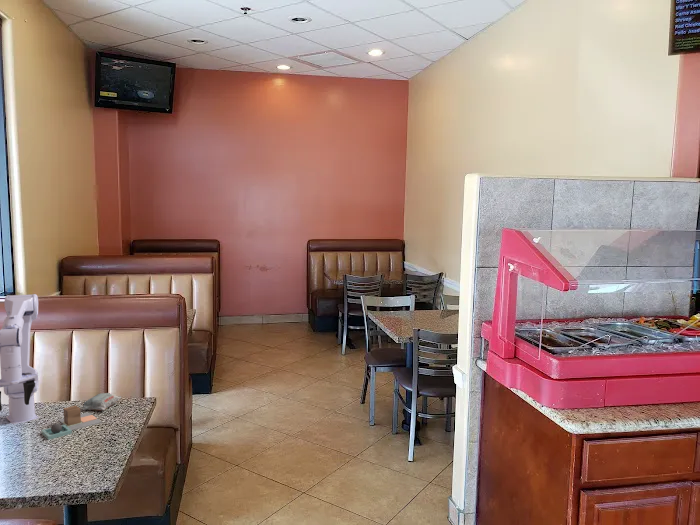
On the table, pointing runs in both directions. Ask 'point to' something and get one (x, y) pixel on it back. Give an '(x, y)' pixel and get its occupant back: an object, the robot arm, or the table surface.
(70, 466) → the table surface
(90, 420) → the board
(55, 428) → the ball
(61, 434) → the dish
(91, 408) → the packaged food
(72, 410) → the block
